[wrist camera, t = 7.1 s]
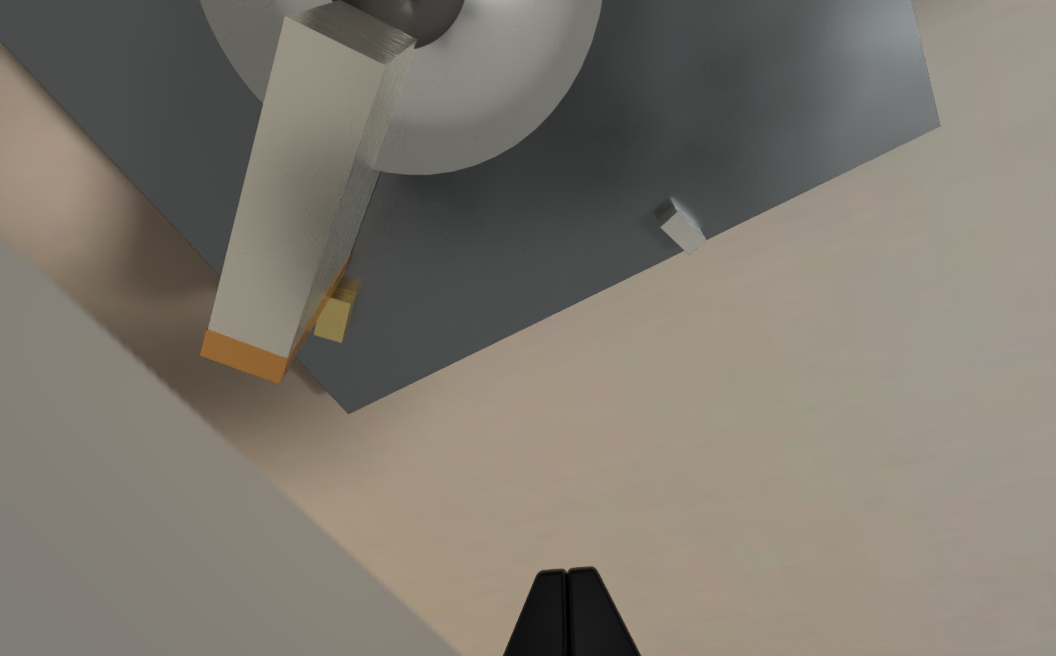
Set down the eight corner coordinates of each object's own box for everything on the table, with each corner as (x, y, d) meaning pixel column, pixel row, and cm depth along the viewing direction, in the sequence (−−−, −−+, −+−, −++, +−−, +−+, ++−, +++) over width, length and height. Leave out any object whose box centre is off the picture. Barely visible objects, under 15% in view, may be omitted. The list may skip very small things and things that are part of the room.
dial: (273, -392, 9) (94, -619, 6) (671, -141, 11) (741, -185, 7) (166, 202, 14) (32, 295, 11) (449, 317, 16) (421, 435, 12)
